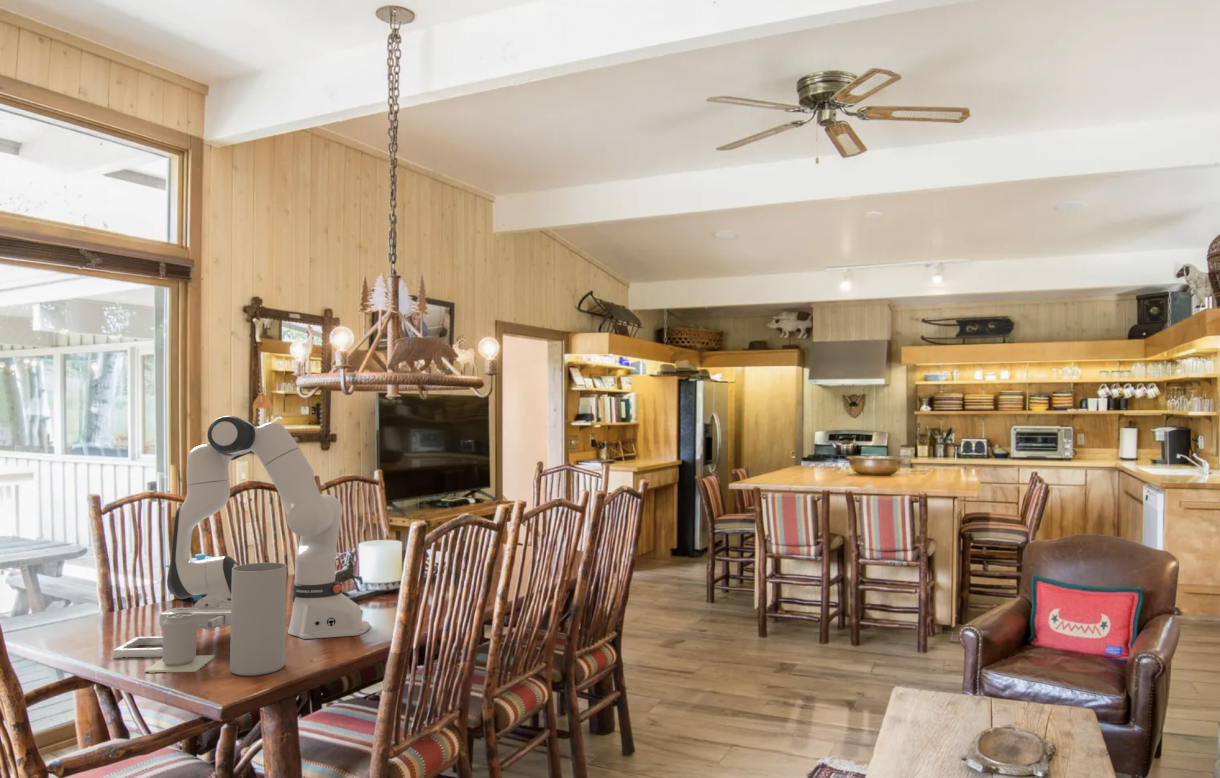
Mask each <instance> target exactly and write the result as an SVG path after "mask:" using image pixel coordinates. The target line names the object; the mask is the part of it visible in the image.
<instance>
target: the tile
mask: <svg viewBox="0 0 1220 778" xmlns="http://www.w3.org/2000/svg"><path fill="white" fill-rule="evenodd" d="M213 659H215V654H211V655H210V654H208V655H207V654H204V655H200V654H199V655H197V654H196V658H195V659H194V660H193V661H192V662H191V663H189V664H186V665H180V666H168V665H166V664H165V663H164V662H163V661H162V658H161V659H159V660H158V661H156V662H155V663H153V664H152V665H150V666H149V667H148V668H146V669H145V670H144V674H147V673H146V672H149V673H148V674H154V673H155V672H166V673H193V672H194V673H197V672H198V671H199V670H201V669H202V668H203V667H204V666H206V665H207V664H208V663H210V662H211V661H213ZM205 664H206V665H205ZM200 668H201V669H200ZM155 674H156V673H155Z"/></svg>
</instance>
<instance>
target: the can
mask: <svg viewBox="0 0 1220 778" xmlns="http://www.w3.org/2000/svg"><path fill="white" fill-rule="evenodd" d="M166 618H167V619H166V620H165V621H164V622H163V627H162V636H163V645H162V648H163V654H162V657H161V659H162V661H163V662H164V663H165V664H166V665H168V666H180V665H186V664H189V663H191V662H192V661H193V660H194V659H195V658H196V656H197V636H198V635H197V633H198V632H197V631H198V630H197V628H198V626H197V619H196V618H195V617H194V613H192V612H179V613H173V614H169V615H167V616H166Z"/></svg>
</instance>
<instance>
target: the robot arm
mask: <svg viewBox="0 0 1220 778" xmlns="http://www.w3.org/2000/svg"><path fill="white" fill-rule="evenodd" d="M206 437H207V441H208V443H206V444H205V443H204V444H200V445H198V446H195V447H194V448H192V449H191V450H190V451H189V452H188V454H187V460H186V472H185V473H186V495H185V499H184V501H183V503H182V504H181V505H179V506H178V507H177V509H176V512H175V517H174V522H173V529H172V531H173V532H172V543H171V554H170V563H169V565H170V567H169V568H168V572H167V579H166V583H167V584H166V585H167V590H168V592H169V593H170V592H171V593H172V594H171V595H173V596H175V597H177V598H181V599H180V600H185V599H184V598H187V599H189V598H193V597H192V596H195V595H200V594H206V593H208V594H207V595H204V596H202V599H200V600H199V601H195V603H194V605H193V606H192V607H173V608H169V609H168V610H165V611H163V612H160V614H159V617H158V620H159V621H158V625H159V626H160V628H163V622H164V621H165V620H166V619H167V618H166V616H167V615H169V614H173V613H179V612H192V613H194V617H195V618H196V619H197V627H199V628H201V629H204V630H213V629H215V628H221V627H224V626H225V627H227V626H228V627H229V626H230V627H231V586H232V568H233V567H235V566H239V563H238V562H237V561H236V560H235V559H234V558H233V557H231V556H229V555H223V556H213V557H214V558H210V559H203V560H196V561H191V560H190V559H191V558H190V557H191V549H192V548H191V546H192V535H193V531H194V528H195V527H196V526H197V525H198V524H199V523H200V522H202V521H204V520H206V519H207V518H209V517H211V516H213V515H215V514H217V513H218V512H220V511H221V510H222V509H223V508H225V507H226V506H227V504H228V503H229V500H230V497H231V483H230V473H229V466H230V465H229V464H230V462H231V461H235V460H237V459H239V458H241V457H243V456H244V457H245V456H246V455H249V454H250V453H252V452H253V454H255V455H256V456H257V458H258V459H259V460H260V462H261V464H262V466H263V467H264V469H265V471H266V472H267V474H268V477H269V478H270V479H271V481H272V483H273V484H274V486H275V488H276V490H277V493H278V495H279V497H280V501H281V503H282V505H283V508H284V512H285V514H286V523H287V527H288V528H289V530H290V531H291V532H293V533H294V534H295V535H296V536H300V538H299V542H298V547H297V551H296V552H295V556H294V562H295V563H294V582H293V585H292V596H291V597H292V602H293V606H292V613H291V619H290V623H289V627H288V630H287V633H288V634H289V635H290V636H295V637H299V638H301V639H302V640H303V639H304V640H306V639H307V640H309V639H323V638H325V639H326V638H337V637H354V636H360V635H362V634H364V633H366V632H367V631H368V630H369V629H370V622H369V621H367V620H363V617H362V616H363V615H362V611H361V608H360V606H359V604H357V603H356V602H355V601H353V600H352V599H350V598H349V597H348V596H346V595H345V594H343V593H342V591H343V581H341V582H339V581H338V580H336V553H337V552H336V551H337V545H338V541H339V536H340V535H339V534H340V528H341V520H342V516H343V512H344V509H343V505H342V503H341V501H340V500H339V499H338V498H337V497H335V496H333V495H330V494H327V493H320V490H319V487H318V485H317V482H316V478H315V475H314V469H313V468H312V466H311V464H310V463H309V461H308V460H307V458H306V456H305V455H304V452H303V451H302V450H301V448H300V446H299V444H298V443H297V442H296V439H294V438H293V436H292V435H291V433H290V432H289V431H288V430H287V428H286V427H285V426H284V425H282V424H281V423H279V422H276V421H271V422H266V423H263V424H261V425H259V426H256V425H255V424H254V423H253V422H251V421H250V420H247V419H245V418H244V417H243V418H242V417H239V416H234V415H222V416H220V417H218V418H216V419H214V420H213V421H212V422H211V423H210V425H209V427H208V429H207V436H206Z"/></svg>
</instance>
